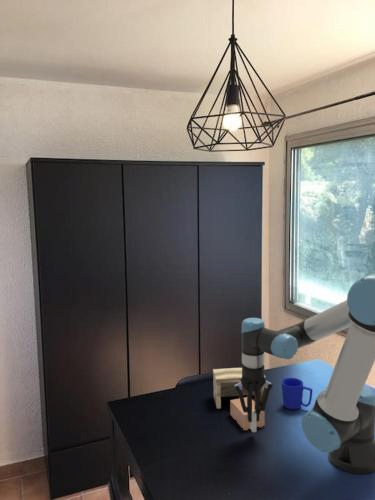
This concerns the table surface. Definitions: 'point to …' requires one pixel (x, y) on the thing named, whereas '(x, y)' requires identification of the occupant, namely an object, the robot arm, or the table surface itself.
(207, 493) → the table surface
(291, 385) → the mug
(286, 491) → the table surface
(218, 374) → the shelf nook
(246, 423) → the tan brown block
